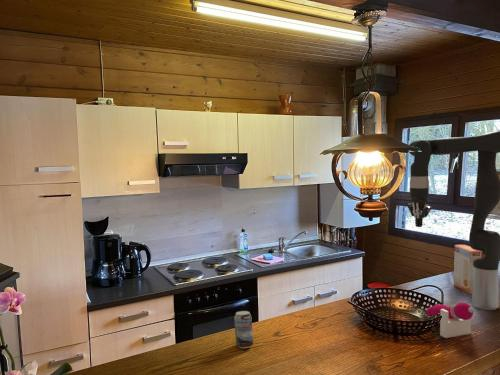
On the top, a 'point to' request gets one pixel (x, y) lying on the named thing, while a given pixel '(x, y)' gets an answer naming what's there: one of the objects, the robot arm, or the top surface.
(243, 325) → the beverage can
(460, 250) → the cracker box
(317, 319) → the top surface
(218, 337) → the top surface
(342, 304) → the top surface
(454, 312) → the pepper mill
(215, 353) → the top surface
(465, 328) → the u rest
